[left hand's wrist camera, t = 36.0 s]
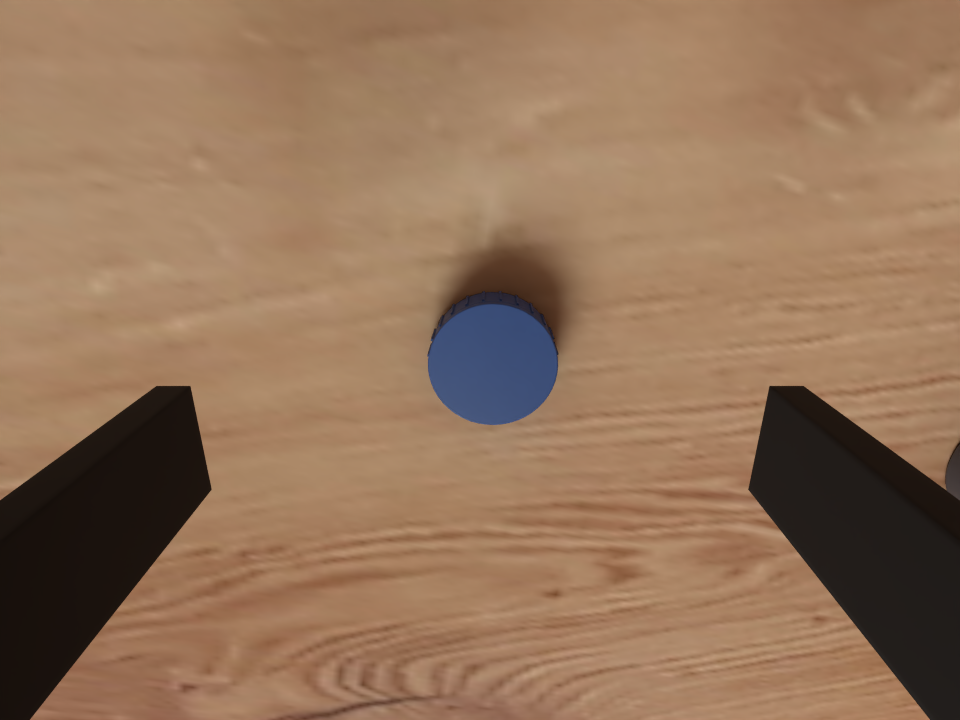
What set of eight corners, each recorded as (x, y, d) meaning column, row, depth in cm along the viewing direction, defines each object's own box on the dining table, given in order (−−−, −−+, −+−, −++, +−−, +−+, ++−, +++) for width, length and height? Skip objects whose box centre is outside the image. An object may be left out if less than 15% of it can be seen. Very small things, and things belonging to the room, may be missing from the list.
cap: (515, 266, 18) (517, 276, 17) (575, 370, 20) (582, 387, 18) (407, 330, 19) (400, 345, 18) (472, 425, 20) (470, 447, 19)
